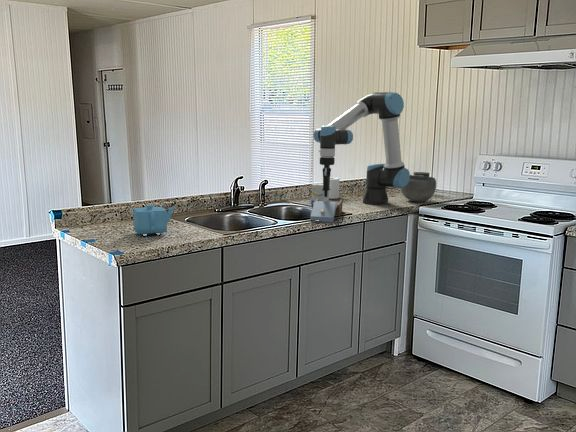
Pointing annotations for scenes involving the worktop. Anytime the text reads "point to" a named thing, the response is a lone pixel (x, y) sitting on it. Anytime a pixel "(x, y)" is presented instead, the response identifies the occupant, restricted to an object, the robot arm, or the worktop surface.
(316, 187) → the ink box
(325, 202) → the cover plate
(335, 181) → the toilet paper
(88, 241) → the worktop surface
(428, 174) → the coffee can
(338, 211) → the walnut box
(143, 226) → the teapot
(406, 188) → the bowl
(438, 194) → the worktop surface
